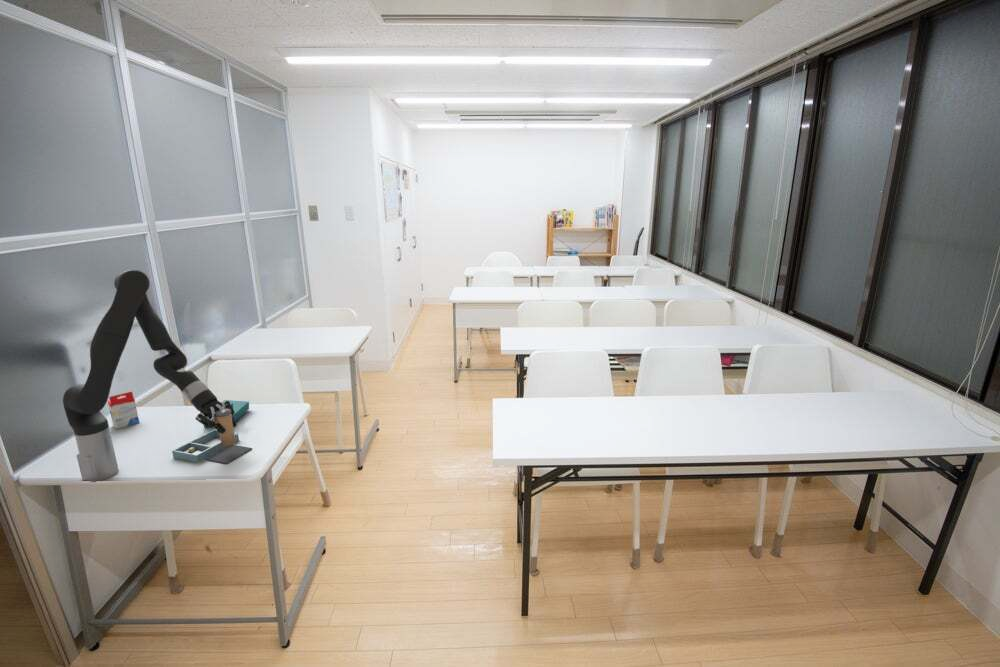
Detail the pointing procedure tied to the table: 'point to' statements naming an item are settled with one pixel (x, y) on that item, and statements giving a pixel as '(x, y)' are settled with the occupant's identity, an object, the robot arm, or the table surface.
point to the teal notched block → (237, 408)
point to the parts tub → (199, 448)
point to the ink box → (123, 410)
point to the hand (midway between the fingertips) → (229, 428)
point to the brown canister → (226, 427)
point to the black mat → (228, 454)
